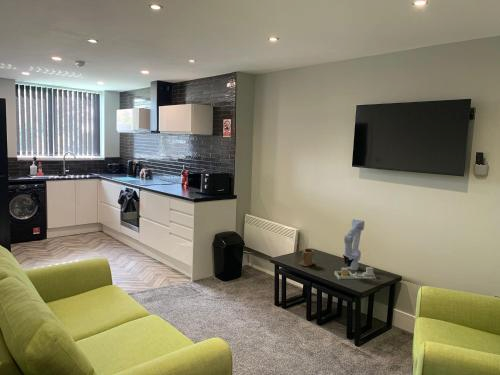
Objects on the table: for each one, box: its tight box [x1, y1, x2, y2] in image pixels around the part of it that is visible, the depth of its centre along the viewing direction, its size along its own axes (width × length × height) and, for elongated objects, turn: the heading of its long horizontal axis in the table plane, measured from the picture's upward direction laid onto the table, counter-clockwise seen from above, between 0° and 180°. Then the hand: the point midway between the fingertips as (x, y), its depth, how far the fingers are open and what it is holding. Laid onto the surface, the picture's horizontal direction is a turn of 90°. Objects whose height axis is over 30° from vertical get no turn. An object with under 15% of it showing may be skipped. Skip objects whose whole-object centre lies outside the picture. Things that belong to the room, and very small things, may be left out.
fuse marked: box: [340, 267, 349, 276], centre depth 317 cm, size 3×5×7 cm, turn 92°
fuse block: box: [352, 271, 377, 279], centre depth 319 cm, size 10×18×4 cm, turn 93°
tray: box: [334, 270, 356, 281], centre depth 318 cm, size 13×13×3 cm
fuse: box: [365, 266, 374, 277], centre depth 318 cm, size 3×5×7 cm, turn 93°
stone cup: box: [298, 248, 316, 267], centre depth 345 cm, size 15×12×15 cm
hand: (347, 265), depth 319 cm, fingers open, 7 cm apart
